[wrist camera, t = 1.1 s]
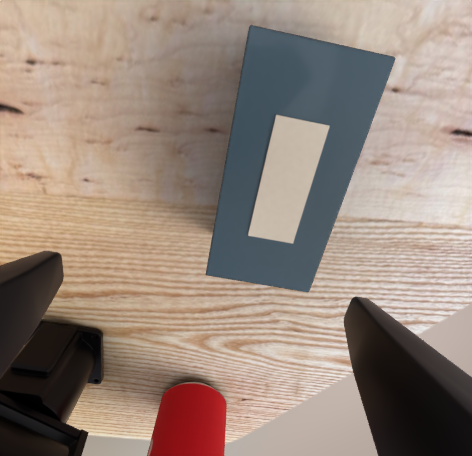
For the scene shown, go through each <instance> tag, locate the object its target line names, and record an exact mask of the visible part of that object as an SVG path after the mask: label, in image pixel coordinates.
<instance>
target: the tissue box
mask: <svg viewBox="0 0 472 456" xmlns="http://www.w3.org/2000/svg"><path fill="white" fill-rule="evenodd" d="M394 61H395V57H392V56H388V55H383V54H379V53H374V52H370V51H365V50H361V49H357V48H352V47H348V46H343V45H339V44H334V43H330V42H325V41H321V40H316V39H312V38H307V37H303V36H298V35H294V34H289V33H285V32H280V31H276V30H271V29H267V28H262V27H258V26H253V25H250V27H249V31H248V36H247V42H246V48H245V54H244V59H243V65H242V71H241V76H240V82H239V88H238V93H237V99H236V105H235V111H234V116H233V122H232V128H231V133H230V139H229V145H228V151H227V156H226V162H225V168H224V173H223V179H222V185H221V190H220V196H219V202H218V208H217V213H216V219H215V225H214V230H213V236H212V242H211V248H210V253H209V259H208V265H207V270H206V275H209V276H215V277H220V278H226V279H232V280H238V281H244V282H250V283H256V284H262V285H268V286H274V287H279V288H285V289H291V290H297V291H303V292H309V290H310V288H311V285H312V282H313V280H314V277H315V274H316V272H317V269H318V266H319V263H320V261H321V258H322V255H323V253H324V250H325V247H326V245H327V242H328V239H329V237H330V234H331V231H332V228H333V226H334V223H335V220H336V218H337V215H338V212H339V210H340V207H341V204H342V202H343V199H344V196H345V193H346V191H347V188H348V185H349V183H350V180H351V177H352V175H353V172H354V169H355V166H356V164H357V161H358V158H359V156H360V153H361V150H362V148H363V145H364V142H365V140H366V137H367V134H368V131H369V129H370V126H371V123H372V121H373V118H374V115H375V113H376V110H377V107H378V104H379V102H380V99H381V96H382V94H383V91H384V88H385V86H386V83H387V80H388V78H389V75H390V72H391V69H392V67H393V64H394Z"/></svg>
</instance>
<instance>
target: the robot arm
mask: <svg viewBox="0 0 472 456" xmlns="http://www.w3.org/2000/svg"><path fill="white" fill-rule="evenodd" d="M63 277H64V274H63V265H62V257H61V254H60V253H58V252H51V251H43V252H40V253H37V254H34V255H31V256H28V257H25V258H22V259H19V260H16V261H13V262H10V263H7V264H4V265H1V266H0V456H81V455H82V452H83V448H84V446H85V442H86V439H87V436H88V432H86V431H84V430H79V429H77V428H74V427H72V426H70V425H68V424H66V422H67V420H68V419H69V417H70V415H71V413H72V411H73V409H74V407H75V405H76V403H77V401H78V399H79V397H80V395H81V393H82V391H83V389H84V387H85V386H86V384H87V383H92V384H100V383H101V382H102V380H103V333H102V332H101V331H100V330H97V329H91V328H85V327H78V326H72V325H65V324H59V323H53V322H46V321H41V320H42V318H43V316H44V314H45V312H46V311H47V309H48V307H49V305H50V304H51V302H52V300H53V298H54V296H55V295H56V293H57V291H58V289H59V288H60V286H61V284H62V282H63ZM344 327H345V332H346V338H347V343H348V348H349V354H350V359H351V364H352V369H353V373H354V376H355V380H356V383H357V386H358V390H359V393H360V396H361V400H362V403H363V406H364V410H365V413H366V416H367V420H368V423H369V426H370V429H371V433H372V436H373V440H374V442H375V446H376V449H377V453H378V456H472V377H471V376H469V375H468V374H467V373H465V372H464V371H463V370H461V369H460V368H459V367H457V366H456V365H455V364H453V363H452V362H451V361H449V360H448V359H447V358H445V357H444V356H443V355H441V354H440V353H439V352H437V351H436V350H435V349H434V348H432V347H431V346H430V345H428V344H427V343H426V342H424V341H423V340H422V339H420V338H419V337H418V336H416V335H415V334H414V333H412V332H411V331H410V330H408V329H407V328H406V327H404V326H403V325H402V324H401V323H399V322H398V321H397V320H395V319H394V318H393V317H391V316H390V315H389V314H387V313H386V312H385V311H383V310H382V309H381V308H379V307H378V306H377V305H375V304H374V303H373V302H371V301H370V300H369V299H367V298H362V297H354V298H353V299H352V300H351V302H350V304H349V307H348V309H347V312H346V314H345V317H344ZM24 345H25V346H24ZM23 346H24V347H23ZM20 350H21V351H20Z"/></svg>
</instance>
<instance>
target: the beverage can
mask: <svg viewBox="0 0 472 456" xmlns="http://www.w3.org/2000/svg"><path fill="white" fill-rule="evenodd" d="M226 407H227V406H226V401H225V399H224V397H223V396H222V395H221V394H220V393H219V392H218V391H217V390H216V389H214V388H213V387H211V386H209V385H207V384H204V383H200V382H185V383H181V384H178V385H175V386H173V387H171V388H170V389H168V390H167V391H166V392H165V393H164V395H163V396H162V399H161V403H160V407H159V411H158V415H157V419H156V422H155V426H154V430H153V434H152V438H151V442H150V447H149V450H148V455H147V456H224V446H225V427H226Z"/></svg>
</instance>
